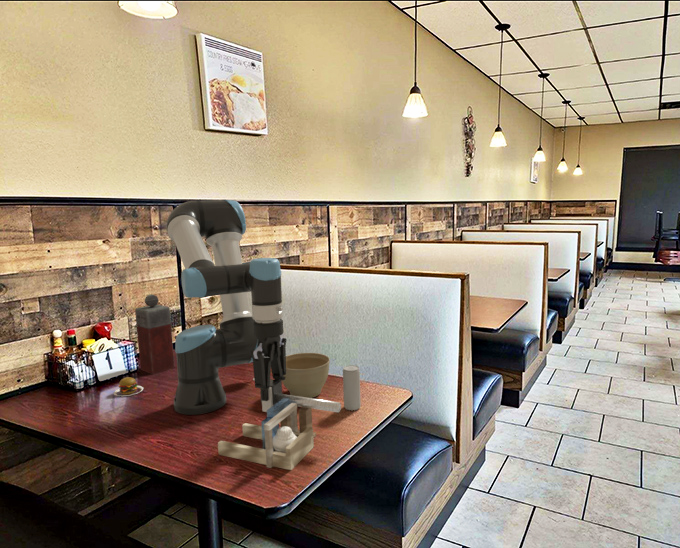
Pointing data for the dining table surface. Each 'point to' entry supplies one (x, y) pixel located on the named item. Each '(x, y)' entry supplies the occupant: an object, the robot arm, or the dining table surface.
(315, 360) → the planter bowl
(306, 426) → the cream cubby shelf
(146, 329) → the red decanter
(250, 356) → the robot arm
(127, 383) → the hamburger
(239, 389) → the dining table surface
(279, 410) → the hammer
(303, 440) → the beige open frame
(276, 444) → the white lumpy mound
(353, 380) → the beverage can
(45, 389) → the dining table surface
